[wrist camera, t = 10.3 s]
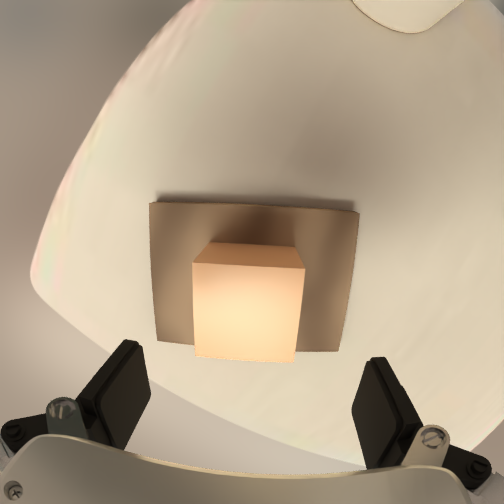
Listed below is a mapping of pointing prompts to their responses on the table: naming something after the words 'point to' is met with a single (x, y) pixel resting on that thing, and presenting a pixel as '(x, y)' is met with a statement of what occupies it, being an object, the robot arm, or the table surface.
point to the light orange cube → (247, 301)
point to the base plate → (258, 233)
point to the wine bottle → (407, 13)
